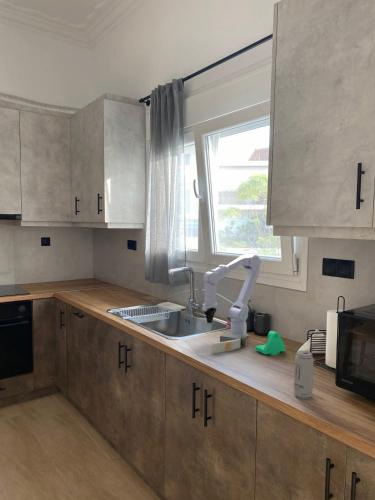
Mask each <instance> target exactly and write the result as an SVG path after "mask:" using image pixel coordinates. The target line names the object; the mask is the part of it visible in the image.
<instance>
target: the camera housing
mask: <svg viewBox="0 0 375 500" xmlns="http://www.w3.org/2000/svg"><path fill="white" fill-rule="evenodd" d="M237 339H241V343H240V348H242V347H244V346H245V345H246V338H244V335H238V334H232V333H231V332H224V333H222V334H221V335H219V343H220V342H225V341H231V340H237Z"/></svg>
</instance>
